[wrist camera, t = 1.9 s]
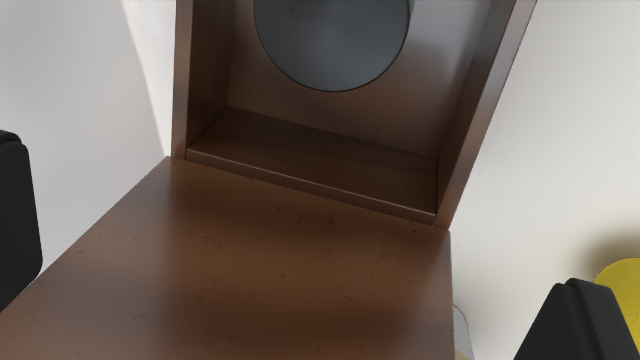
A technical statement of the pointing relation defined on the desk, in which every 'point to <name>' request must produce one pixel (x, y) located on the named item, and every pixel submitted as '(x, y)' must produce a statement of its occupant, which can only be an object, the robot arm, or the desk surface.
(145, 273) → the lid
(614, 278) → the lemon
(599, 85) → the desk surface
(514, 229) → the desk surface
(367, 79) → the canister
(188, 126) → the tea box
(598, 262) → the desk surface
